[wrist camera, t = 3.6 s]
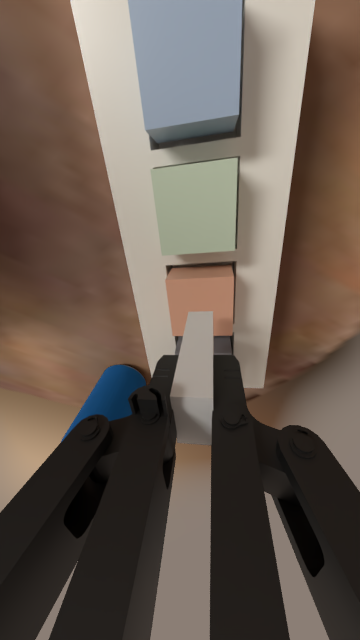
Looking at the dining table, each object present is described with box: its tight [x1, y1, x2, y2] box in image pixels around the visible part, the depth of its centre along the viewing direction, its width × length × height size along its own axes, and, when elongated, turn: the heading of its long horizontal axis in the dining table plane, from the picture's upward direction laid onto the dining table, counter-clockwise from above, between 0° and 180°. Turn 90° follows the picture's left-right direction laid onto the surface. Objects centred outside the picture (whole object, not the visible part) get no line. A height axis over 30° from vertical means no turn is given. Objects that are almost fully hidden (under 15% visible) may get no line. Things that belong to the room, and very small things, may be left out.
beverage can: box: [61, 365, 146, 442], centre depth 26 cm, size 6×6×12 cm
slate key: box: [128, 0, 242, 143], centre depth 11 cm, size 5×5×3 cm
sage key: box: [150, 157, 238, 256], centre depth 14 cm, size 5×5×3 cm
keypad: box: [70, 0, 315, 388], centre depth 19 cm, size 12×28×5 cm, turn 5°
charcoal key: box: [175, 336, 232, 355], centre depth 20 cm, size 5×5×3 cm
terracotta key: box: [165, 265, 234, 336], centre depth 17 cm, size 5×5×3 cm
